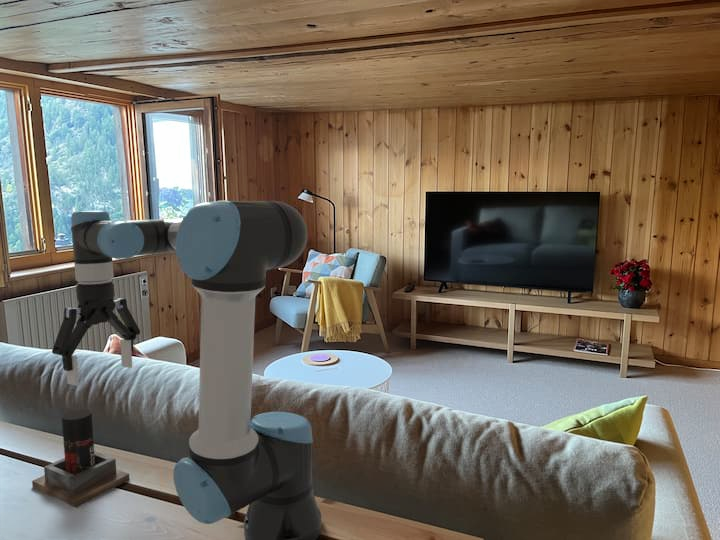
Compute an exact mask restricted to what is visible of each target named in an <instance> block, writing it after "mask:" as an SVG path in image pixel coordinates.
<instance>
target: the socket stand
mask: <svg viewBox="0 0 720 540" xmlns="http://www.w3.org/2000/svg"><path fill="white" fill-rule="evenodd" d="M94 455H95V466H93V467H91V468H89V469H87V470H84V471H82V472H80V473H78V474H76V475H73V474H71V473H68V472H66V466H65V457H64V458H62V459H59V460H57V461H54V462H52V463H50V464H48V465H45V466H44V468H43V471H44V475H42V476H40V477H37V478H36V479H33V480H31V483H32V488H34V489H36V490H38V491H40V492H42V493H45V494H47V495H49V496H50V497H53V498H55V499H58V500H59V501H61V502H63V503H66V504H68V505H70V506H72V507H75V508H78V506H79V507H81V506H82V504H83V505H84V504H86V503H89V502H91V501H92V500H94V499H96V498H97V496H98V497H100V496H101V495H100V494H102V493H103V494H105V493H107V492H109V491H111V490H113V489H115V488H117V487H119V486H120V485H123V484H124V483H126V482H129V481H130V480H131V479H130V473H129V472H126V471H124V470H121V469H118V468H117V464H116V462H117V461H116V457H115V458H114V457H112V456H109V455H107V454H104V453H101V452H99V451H96V450H94ZM112 488H113V489H112ZM110 489H111V490H110ZM108 490H109V491H108ZM106 491H107V492H106ZM104 492H105V493H104ZM103 494H102V495H103ZM99 495H100V496H99ZM95 497H96V498H95ZM93 498H94V499H93ZM80 505H81V506H80Z"/></svg>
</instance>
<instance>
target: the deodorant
mask: <svg viewBox="0 0 720 540" xmlns="http://www.w3.org/2000/svg"><path fill="white" fill-rule="evenodd" d="M61 422H62V425H61V426H62V437H63V439H62V441H63V451H64V458H65V466H66V472H68V473H71V474H73V475H76V474H78V473H80V472H82V471H84V470H87V469H89V468H91V467H93V466H95V455H94V451H95V442H94V428H93V427H94V425H93V413H92V410H90V409H87V408H86V409H85V408H82V409H81V408H79V409H74V410H70V411H68V412H65V413H63V415H61Z"/></svg>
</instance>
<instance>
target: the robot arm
mask: <svg viewBox="0 0 720 540" xmlns="http://www.w3.org/2000/svg"><path fill="white" fill-rule="evenodd" d="M70 217H71V218H70V219H71V223H70V231H71V237H72V238H71V239H72V240H71V241H72V249H73V250H72V252H73V261H74V275H75V276H74V277H75V281H77V282H78V283H76V284H75V289H76V290H75V291H76V299H77V302H78V305H77V307H65V308H64V310H63V320H62V322H61V325H60V327H59V331H58V334H57V336H56V339H55V342H54V345H53V347H52V349H51V353H52V354H54V355H57V356H61V358H62V359H61V360H62V368H63V370H64V371H66V377H67V378H66V379H67V384H68V385H72V386H75V387H77V386H79V385H80V381H79V380H80V378H79V368H78V367H79V366H78V355H77V354H74V353H75V351H76V349H78V346H79V345H80V343H81V342H82V340H83V338H84V337H85V334H86V333H87V331H88V330H89V329H90V328H92V325H94V326H95V325H99V324H100V323H109V324H110V326H111V327H113V329H114V330H116V331H117V332H118V334H119V335H120V336H121V337H122V338H121V339H120V340H119V341H120V355H121V357H120V359H121V360H120V361H121V367H123V368H128V369H130V368H133V357H132V354H133V353H134V341H135V340H137V336H138V335H140V334H141V330H140V328H139V326H138V324H137V323H136V321H135V319H134V317H133V315H132V314H131V311H130V310H129V308H128V304H127V303H128V302H127V299H126V298H120V297H116V298H115V299H114V297H115V296H116V295H115V294H116V293H115V282H114V281H113V279H114V275H115V274H114V266H113V259H115V260H121V259H131V258H133V257H135V256H136V257H137V256H138V257H139V256H146V255H147V256H148V255H156V254H169V253H171V254H172V253H173V254H176V258H177V259H178V260H179V262H178V263H179V264H178V265H179V268H180V269H181V270H182V272H183V273H184V274H185V275H186V276H187V277H188V278H190V279H191V287H192V288H194V290H195V291H196V292H198V293H199V295H200V336H199V337H200V340H199V342H200V344H199V383H198V384H199V386H198V388H199V391H198V393H199V394H198V428H197V430H196V431H193V433H192V434H191V435H190V437H189V440H188V456H187V457H182V458H181V459H180V460H178V462H177V463H176V464H174V467H173V473H172V474H173V483H174V487H175V491H176V493H177V496H178V497H179V500H180V502H181V504H182V506H183V507H184V509H185V510H186V512H187V513H188V514H189V515H190V516H191V517H192V518H193V519H194V520H196V521H197V522H199V523H201V524H205V525H211V524H214V523H216V522H219V521H221V520H223V519H228V518H229V517H230V516H231V515H233V514H235V513H237V512H238V511H240V510H242V509H243V508H245V507H247V506H248V508H247V511H246V514H245V517H244V519H243V534H244V539H245V540H317V539H318V537H319V536H320V534H321V532H322V514H321V511H320V508H319V506H318V504H317V501H316V498H315V493H314V490H313V460H314V459H313V445H314V443H313V442H314V438H313V433H312V424H311V422H310V421H309V420H308V419H307V418H305V417H304V416H302V415H300V414H297V413H293V412H286V411H268V412H262V413H259V414H256V415H254V416H253V417H251V416H252V415H251V414H252V413H251V412H252V393H253V392H252V389H253V388H252V387H253V367H254V343H255V342H254V341H255V339H254V337H255V316H256V297H257V295H259V293H261V292H262V291H263V290H264V289H265V288H266V277H267V271H268V270H275V269H281V268H284V267H286V266H289V265H290V264H292V263H293V262H295V261H296V260H297V259H298V258H299V257H300V256H301V255H302V253H303V252H304V250H305V248H306V247H307V246H306V245H307V242H308V228H307V224H306V221H305V220H304V217H303V215H302V214H301V213H300V212H299V211H298V210H297V209H296V208H295V207H294V206H292V205H290V204H288V203H286V202H283V201H277V200H225V199H224V200H215V201H207V202H206V201H205V202H201V203H198V204H196V205H193V206H192V207H191V208H190V209H189V210H188V212H187V213H185V214H184V216H183V217H177V218H160V219H159V218H158V219H135V220H134V219H133V220H131V219H130V220H128V219H127V220H111V218H110V215H109V212H108V211H106V210H75V211H73V212H72V213H71V215H70ZM114 309H116V311H117V314H118V315H119V316H120V319H121V320H122V321H121V320H120V319H119V316H118V315H117V314H115V313H114ZM78 317H79V318H78ZM77 318H78V320H77ZM251 418H252V419H251Z"/></svg>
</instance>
